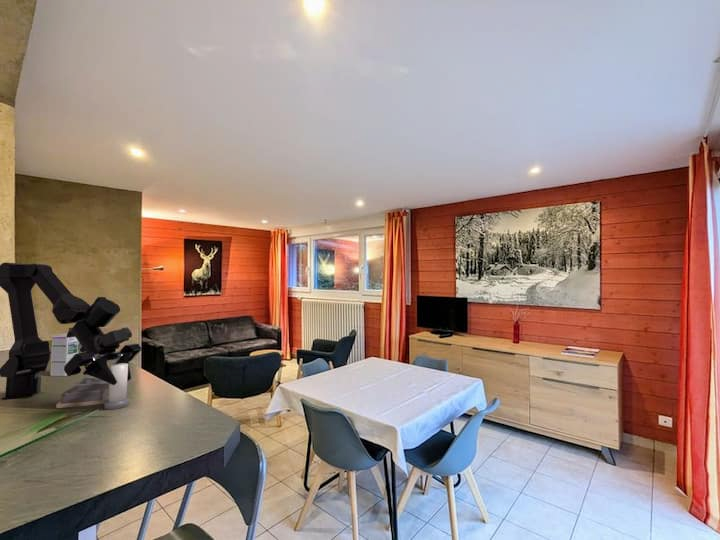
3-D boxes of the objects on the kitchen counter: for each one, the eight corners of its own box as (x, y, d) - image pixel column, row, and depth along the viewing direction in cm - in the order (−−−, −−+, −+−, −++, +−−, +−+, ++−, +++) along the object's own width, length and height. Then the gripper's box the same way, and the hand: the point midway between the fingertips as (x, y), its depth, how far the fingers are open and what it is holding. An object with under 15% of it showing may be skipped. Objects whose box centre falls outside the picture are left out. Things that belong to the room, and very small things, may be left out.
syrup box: (65, 376, 122) (68, 335, 123) (49, 376, 122) (52, 334, 123) (78, 372, 128) (81, 333, 129) (63, 372, 128) (66, 332, 129)
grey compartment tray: (56, 408, 91) (57, 388, 91) (79, 389, 108) (80, 372, 108) (106, 403, 95) (107, 385, 96) (121, 385, 112) (122, 370, 112)
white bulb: (101, 410, 90) (104, 367, 90) (107, 404, 95) (109, 363, 96) (127, 408, 92) (129, 366, 93) (131, 401, 97) (133, 362, 98)
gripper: (76, 321, 87) (109, 369, 84) (138, 316, 105) (167, 355, 102) (49, 351, 88) (81, 399, 85) (115, 341, 106) (143, 380, 103)
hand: (122, 381), depth 94 cm, fingers closed on white bulb, 4 cm apart
